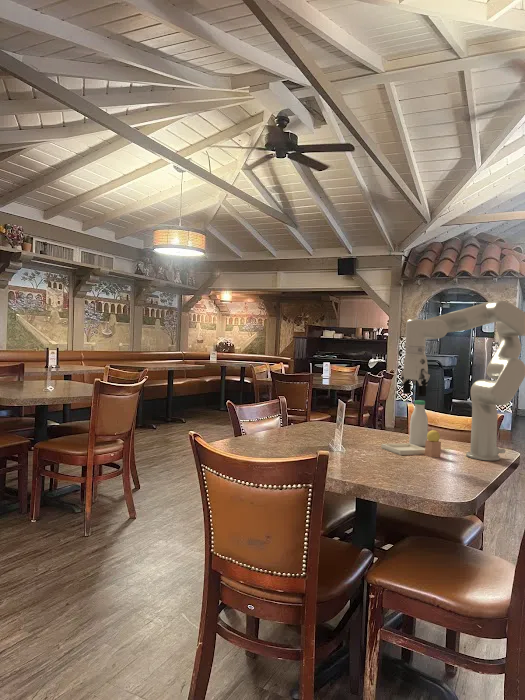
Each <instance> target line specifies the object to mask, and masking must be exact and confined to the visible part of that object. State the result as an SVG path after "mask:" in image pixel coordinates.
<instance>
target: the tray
mask: <svg viewBox="0 0 525 700" xmlns="http://www.w3.org/2000/svg"><path fill="white" fill-rule="evenodd" d="M380 447H381V448H380V449H382V450H385V451H387V452H391V453H394V454H396V455H398V456H409V455H411V456H415V455H425V447H423V446H416V445H413V444H410V443H409V442H407V443H404V442H403V443H381V446H380Z"/></svg>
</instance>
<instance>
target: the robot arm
mask: <svg viewBox="0 0 525 700" xmlns="http://www.w3.org/2000/svg"><path fill="white" fill-rule="evenodd" d="M493 323H495V324H496V325H495V329H496V332H497V334H498V337H499V343H498V347H497V349H496V351H495V352H494V354H493V356H492V358H491V359H490V361H489V362H488V364H487V367H486V375H487V376H488V378H490V379H483V378H482V379H478V380H476V381H475V382H473V384H472V385H471V387H470V399H471V410H472V411H471V429H470V432H471V433H470V451H467V452H466V453H465V456H466V457H467V458H470V459H474V460H481V461H487V462H489V461H491V462H492V461H493V462H495V461H500V460H501V456H500V455H499V454H505V453H506V449H505V448H502V447H501V448H499V447H498V446H497V438H498V437H497V436H498V434H497V433H498V421H499V420H498V410H497V406H500V407H501V406H505V405H508V404H509V403H510V402H511V401H512V400H513V398H514V397H515V395H516V393H517V391H519V388H520V386H522V385H521V384H522V382H524V379H525V363H524V361H522V360H521V359H519V357H520V354H521V353H522V352H521V351H522V345H521V344H522V343H521V341H520V337H521V336H522V337H525V311H523V310H522V309H520V308H519V307H517V306H515V305H514V304H512V303H510V302H507V301H505V300H493V301H487V302H483V303H480V304H476V305H473V306H469V307H466V308H461V309H459V310H455V311H451V312H448V313H445V314H442V315H438V316H437V315H436V316H433V317H430V318H426V319H421V318H420V319H418V318H417V319H416V318H414V319H413V318H412V319H408V320H406V322H405V345H404V351H405V352H404V360H403V369H402V370H401V372H400V376H401V382H402V394H404V395H410V394H411V392H412V390H411V389H412V388H411V386H412V385H411V381H416V382H417V383H418V386H417V387H418V388H417V396H418V397H426V396H427V386H428V383H429V381H430V377H431V374H430V373H429V367H428V357H427V355H426V340H429V339H430V340H432V339H433V340H436V339H437V340H439V339H441V338H444V337H445V336H446V335H447V333H453V332H454V333H456V332H463V331H468V330H472V329H474V328H477V327H481V326H486V325H488V324H493Z"/></svg>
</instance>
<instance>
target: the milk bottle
mask: <svg viewBox="0 0 525 700" xmlns="http://www.w3.org/2000/svg"><path fill="white" fill-rule="evenodd" d="M425 406H426V401H425V400H422V399H421V400H420V399H418V400H414V409H413V411H412V412H411V415H410V419H409V420H410V421H409V437H408V443H410V444H413V445H416V446H419V447H425V443H426V440H428V439H427V434H428V432H429V431H428V430H429V421H428V420H429V418H428V415H427V412H426V408H425Z"/></svg>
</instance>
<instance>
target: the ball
mask: <svg viewBox="0 0 525 700" xmlns="http://www.w3.org/2000/svg"><path fill="white" fill-rule="evenodd" d="M440 435H441V434H440V432H439V431H438V430H435V429H434V430H433V429H431V430H430V431H428V434H427V440H429V441H431V442H438V441H439V442H440V440H441V439H440V438H441V436H440Z"/></svg>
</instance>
